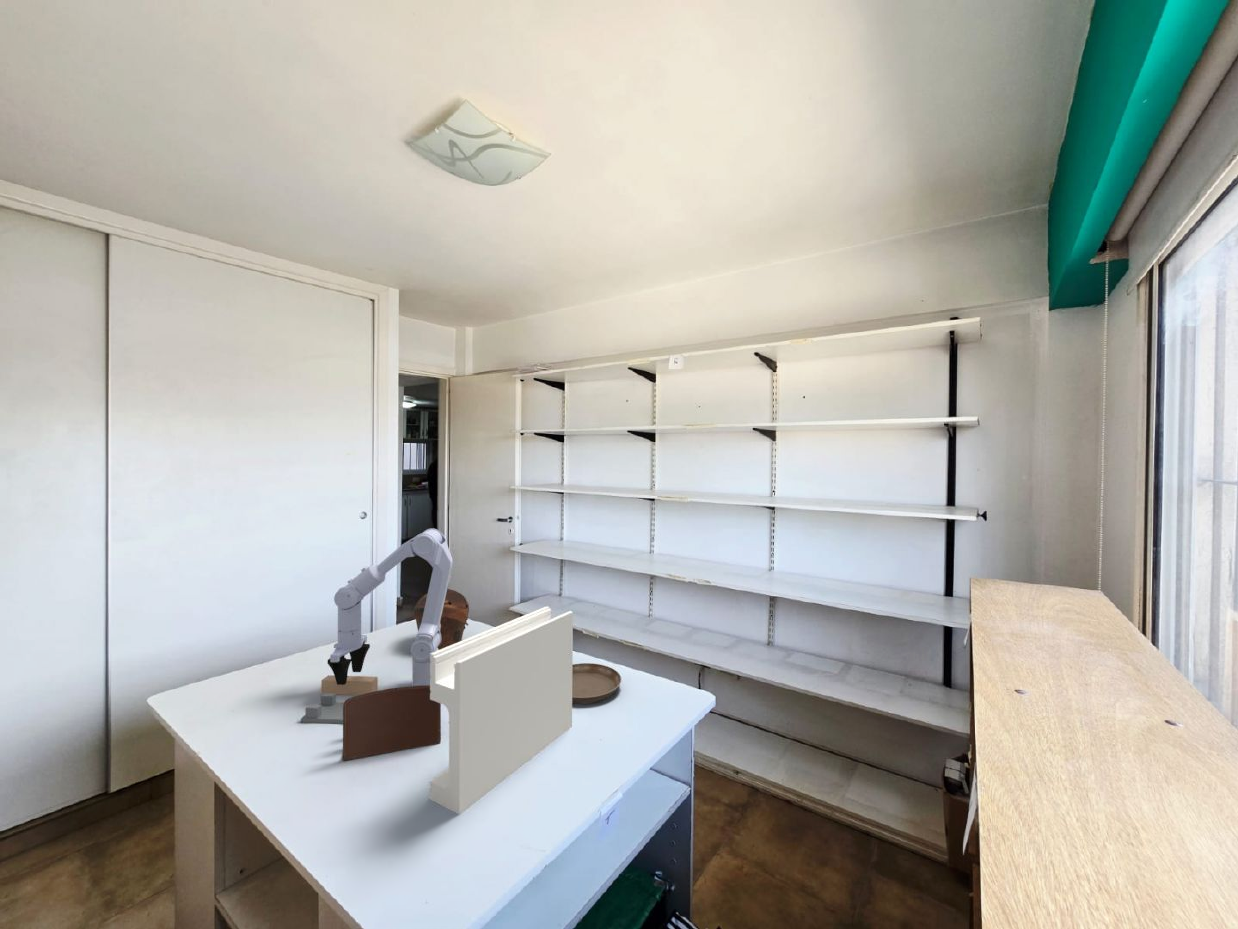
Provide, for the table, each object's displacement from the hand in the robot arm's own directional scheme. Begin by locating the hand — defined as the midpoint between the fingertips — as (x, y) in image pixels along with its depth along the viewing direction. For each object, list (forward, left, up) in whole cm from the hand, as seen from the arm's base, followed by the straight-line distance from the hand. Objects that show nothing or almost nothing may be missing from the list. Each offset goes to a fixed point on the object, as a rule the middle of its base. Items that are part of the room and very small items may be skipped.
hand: (349, 677), depth 139 cm
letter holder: (-23, +22, -4) cm, 33 cm away
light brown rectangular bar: (0, 0, -4) cm, 4 cm away
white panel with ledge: (-51, +28, -4) cm, 58 cm away
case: (-13, -33, -4) cm, 36 cm away
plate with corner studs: (-5, +12, -4) cm, 14 cm away
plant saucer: (-64, -5, -4) cm, 64 cm away
